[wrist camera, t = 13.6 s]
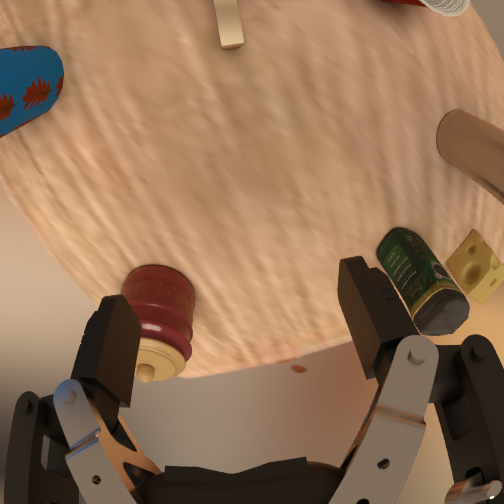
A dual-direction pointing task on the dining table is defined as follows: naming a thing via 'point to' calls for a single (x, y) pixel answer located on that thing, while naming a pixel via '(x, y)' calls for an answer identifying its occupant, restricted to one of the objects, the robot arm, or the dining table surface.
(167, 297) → the canister
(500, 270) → the cheese
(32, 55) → the thermos
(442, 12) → the plastic cup
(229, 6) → the brass bar
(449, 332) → the coffee jar
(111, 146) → the dining table surface
